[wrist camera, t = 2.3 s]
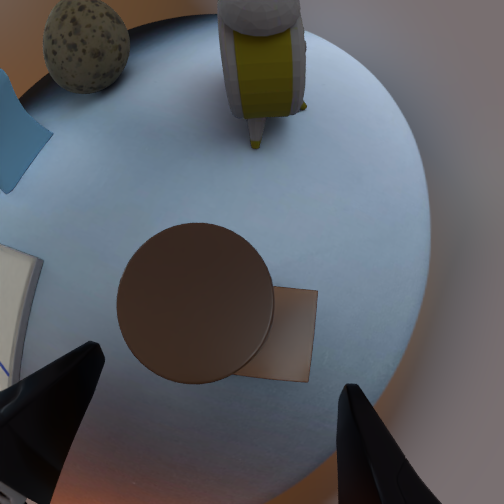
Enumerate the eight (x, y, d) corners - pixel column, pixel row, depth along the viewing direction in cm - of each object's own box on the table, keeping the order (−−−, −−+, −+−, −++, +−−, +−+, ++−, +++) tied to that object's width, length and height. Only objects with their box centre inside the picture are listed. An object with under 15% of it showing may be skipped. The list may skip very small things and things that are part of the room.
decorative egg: (154, 75, 29) (116, -23, 15) (79, 124, 28) (19, 36, 13) (128, 52, 32) (96, -24, 18) (67, 92, 31) (22, 21, 16)
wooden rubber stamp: (300, 374, 18) (362, 433, 5) (184, 358, 19) (39, 364, 6) (308, 302, 20) (376, 212, 6) (194, 289, 20) (79, 191, 7)
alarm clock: (235, 79, 27) (216, -43, 13) (297, 75, 27) (301, -46, 13) (237, 159, 24) (206, -7, 10) (317, 155, 23) (343, -9, 9)
